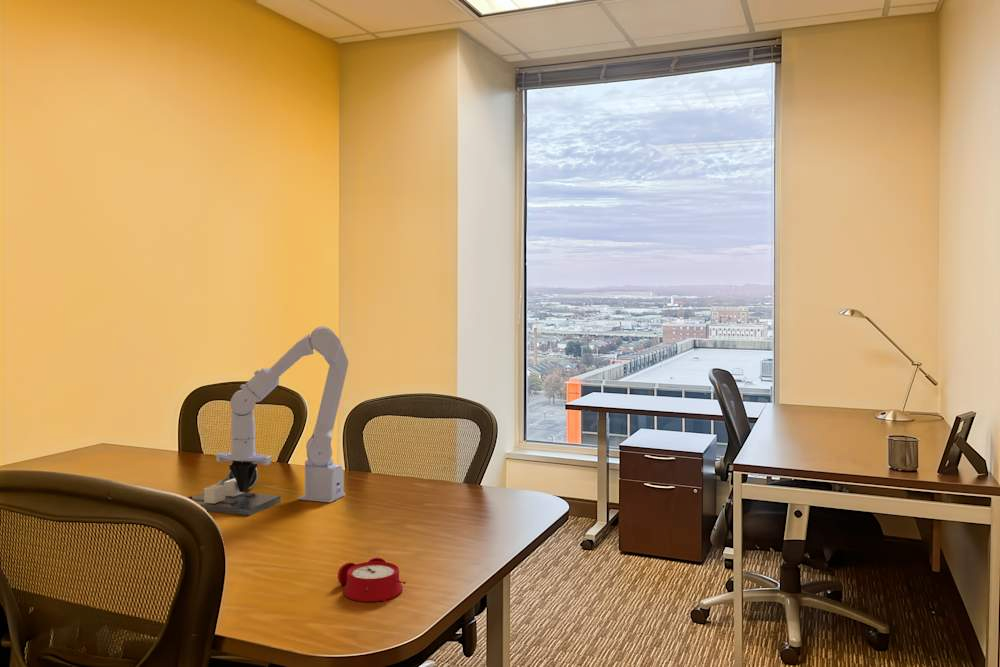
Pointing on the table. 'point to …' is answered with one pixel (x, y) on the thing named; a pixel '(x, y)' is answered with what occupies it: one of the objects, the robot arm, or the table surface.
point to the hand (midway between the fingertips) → (243, 491)
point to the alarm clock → (370, 580)
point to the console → (239, 503)
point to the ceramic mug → (231, 476)
